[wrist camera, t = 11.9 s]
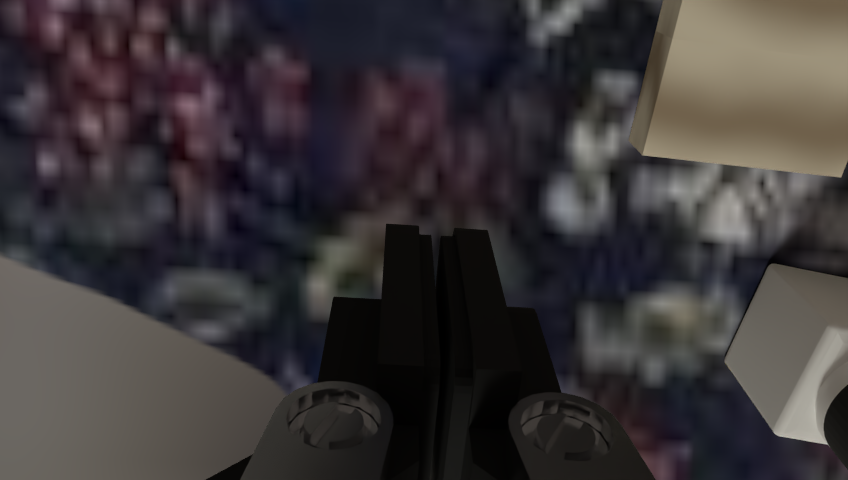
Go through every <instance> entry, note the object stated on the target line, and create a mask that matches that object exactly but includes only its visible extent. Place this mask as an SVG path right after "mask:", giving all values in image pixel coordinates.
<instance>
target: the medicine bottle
mask: <svg viewBox="0 0 848 480" xmlns="http://www.w3.org/2000/svg"><path fill="white" fill-rule="evenodd" d="M724 361H725V363H726V365H727V367H728V368H729V369H730V371H731V372H732V374H733V375H734V377H735V378H736V379H737V381H738V382H739V384H740V385H741V387H742V388H743V389H744V391H745V392H746V394H747V395H748V397H749V398H750V399H751V401H752V402H753V404H754V405H755V407H756V408H757V409H758V411H759V412H760V414H761V415H762V417H763V418H764V419H765V421H766V422H767V424H768V425H769V427H770V428H771V429H772V431H773V432H774V433H775V434H776V435H778V436H781V437H787V438H793V439H799V440H804V441H810V442H816V443H822V444H828V445H829V446H830V448H831V449H832V450H833V451H834V453H835V454H836V455H837V457H838V458H839V459H840V460H841V462H842V463H843V464H844V465H845V467H846V468H847V469H848V278H844V277H839V276H834V275H829V274H824V273H819V272H814V271H809V270H804V269H799V268H794V267H789V266H784V265H779V264H770V265H769V266H768V267H767V269H766V271H765V274H764V276H763V278H762V280H761V282H760V284H759V286H758V288H757V291H756V293H755V295H754V297H753V299H752V301H751V303H750V305H749V308H748V310H747V312H746V314H745V316H744V318H743V320H742V323H741V325H740V327H739V329H738V331H737V333H736V335H735V337H734V340H733V342H732V344H731V346H730V348H729V350H728V352H727V354H726V357H725V360H724Z"/></svg>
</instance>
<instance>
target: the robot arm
mask: <svg viewBox="0 0 848 480" xmlns="http://www.w3.org/2000/svg"><path fill="white" fill-rule="evenodd" d="M429 479H430V480H656V479H655V478H654V476H653V475H652V473H651V471H650V470H649V468H648V467H647V465H646V464H645V462H644V460H643V459H642V457H641V456H640V454H639V452H638V451H637V449H636V448H635V446H634V444H633V443H632V441H631V440H630V438H629V436H628V435H627V433H626V432H625V430H624V429H623V427H622V425H621V424H620V423H619V422H618V421H617V420H616V418H615V417H614V416H613V415H612V414H611V413H610V412H608V411H607V410H605V409H604V408H602V407H601V406H600V405H598V404H596V403H594V402H592V401H589V400H587V399H585V398H583V397H579V396H575V395H571V394H567V393H561V390H560V386H559V383H558V380H557V377H556V374H555V371H554V367H553V364H552V361H551V358H550V355H549V352H548V348H547V345H546V342H545V339H544V336H543V333H542V330H541V326H540V323H539V320H538V317H537V314H536V312H535V310H534V309H533V308H522V307H507V306H506V302H505V298H504V294H503V290H502V286H501V282H500V278H499V274H498V270H497V266H496V262H495V258H494V254H493V250H492V246H491V242H490V238H489V234H488V231H487V230H477V229H461V228H454V231H453V236H441V239H440V246H439V256H438V267H437V277H436V287H435V279H434V266H433V252H432V239H431V235H420V234H419V226H414V225H398V224H386V235H385V251H384V267H383V283H382V299H365V298H348V297H334V298H333V302H332V307H331V312H330V318H329V323H328V329H327V334H326V339H325V345H324V350H323V356H322V361H321V366H320V372H319V377H318V383H313V384H310V385H307V386H304V387H302V388H299V389H297V390H295V391H294V392H292V393H291V394H289V395H288V396H286V397H285V398H284V399H283V400H282V401H281V403H280V404H279V405H278V407H277V408H276V409H275V411H274V413H273V415H272V417H271V419H270V421H269V423H268V425H267V427H266V429H265V431H264V433H263V435H262V437H261V439H260V441H259V443H258V445H257V447H256V449H255V451H254V453H253V454H252V455H251V456H249V457H247V458H245V459H243V460H241V461H240V462H238V463H236V464H234V465H232V466H230V467H228V468H227V469H225V470H223V471H221V472H219V473H217V474H215V475H214V476H212V477H210V478H208V479H206V480H429Z"/></svg>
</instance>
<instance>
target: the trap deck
mask: <svg viewBox="0 0 848 480" xmlns="http://www.w3.org/2000/svg"><path fill="white" fill-rule="evenodd" d="M629 142H630V143H631V144H632V145H633V146H634V147H635V148H636V149H637V150H638V151H639V152H640V153H641V154H642V155H645V156H654V157H663V158H672V159H681V160H690V161H699V162H708V163H717V164H726V165H734V166H743V167H752V168H761V169H770V170H779V171H788V172H797V173H806V174H814V175H823V176H832V177H842V174H843V171H844V169H845V166H846V164H847V161H848V0H663V4H662V8H661V12H660V16H659V20H658V24H657V28H656V32H655V36H654V40H653V44H652V48H651V52H650V56H649V60H648V64H647V68H646V72H645V76H644V80H643V85H642V89H641V93H640V97H639V101H638V105H637V109H636V113H635V117H634V121H633V125H632V129H631V133H630V137H629Z"/></svg>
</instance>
